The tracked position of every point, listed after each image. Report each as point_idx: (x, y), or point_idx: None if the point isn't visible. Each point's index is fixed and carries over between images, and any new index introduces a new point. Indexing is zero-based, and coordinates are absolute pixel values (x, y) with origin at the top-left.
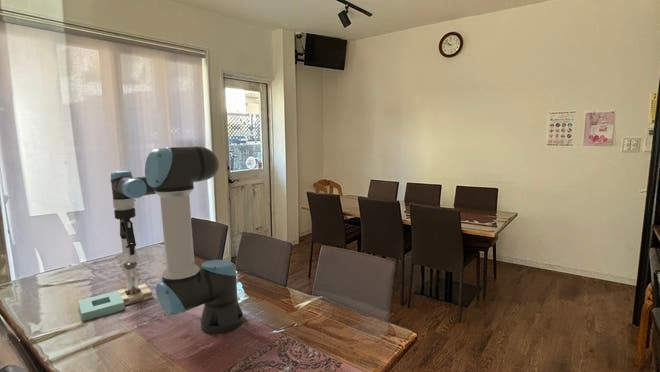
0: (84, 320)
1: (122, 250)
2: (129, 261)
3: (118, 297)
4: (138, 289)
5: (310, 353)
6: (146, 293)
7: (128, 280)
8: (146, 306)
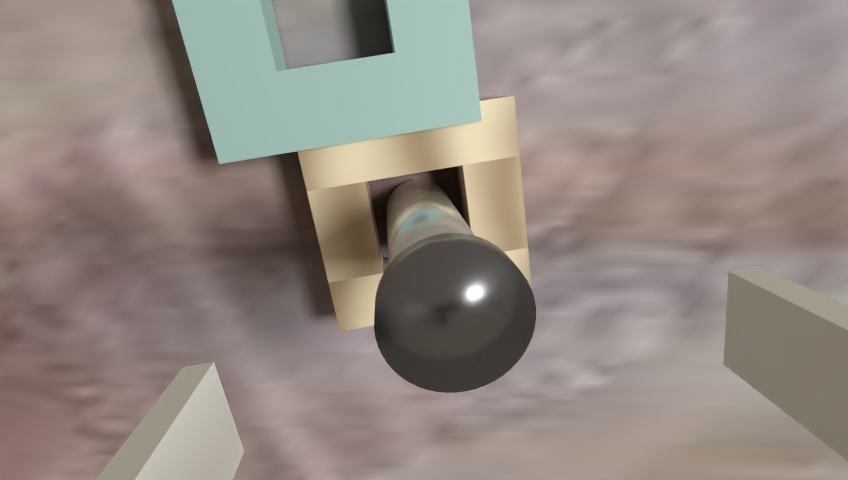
0: None
1: (796, 294)
2: (173, 388)
3: (337, 124)
4: None
5: None
6: (334, 301)
7: (397, 225)
8: (230, 278)
